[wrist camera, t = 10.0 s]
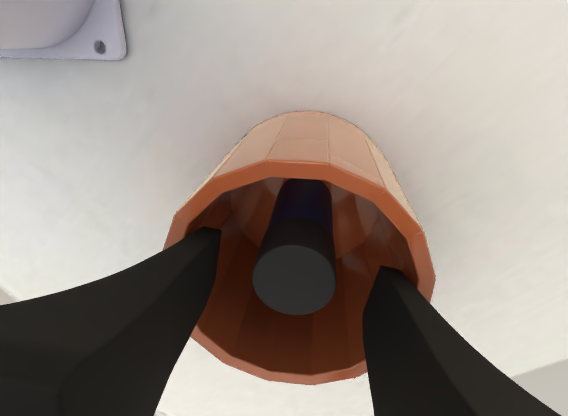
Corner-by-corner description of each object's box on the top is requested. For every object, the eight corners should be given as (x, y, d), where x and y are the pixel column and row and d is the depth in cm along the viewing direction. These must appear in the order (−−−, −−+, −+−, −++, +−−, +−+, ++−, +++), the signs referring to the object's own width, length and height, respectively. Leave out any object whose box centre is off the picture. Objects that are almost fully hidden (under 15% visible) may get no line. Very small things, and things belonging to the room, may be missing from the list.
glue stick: (291, 232, 18) (275, 324, 12) (266, 187, 17) (236, 262, 11) (341, 212, 17) (350, 301, 11) (318, 164, 16) (314, 232, 10)
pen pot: (228, 258, 20) (177, 371, 13) (219, 107, 16) (143, 153, 9) (378, 270, 19) (407, 396, 12) (403, 114, 15) (463, 168, 9)
